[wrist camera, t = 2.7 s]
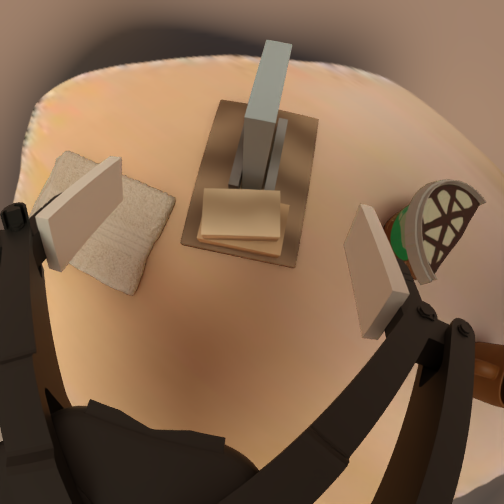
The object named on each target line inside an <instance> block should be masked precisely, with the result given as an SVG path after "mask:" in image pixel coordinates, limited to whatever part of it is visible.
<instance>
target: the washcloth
mask: <svg viewBox="0 0 504 504" xmlns="http://www.w3.org/2000/svg"><path fill="white" fill-rule="evenodd" d="M97 165H98V164H97V163H95V162H93V161H92V160H88V159H87V158H84V157H81V156H80V155H79V154H75V153H73V152H71V151H65V152H64V153H63V154H62V155H61V156H59V157H58V158H57V159H56V162H55V166H54V168H53V170H52V172H51V174H50V176H49V178H48V180H47V181H46V183H45V185H44V187H43V189H42V191H41V193H40V195H39V197H38V198H37V200H36V202H35V204H34V206H33V209H32V211H31V213H30V216H29V218H30V217H31V216H32V215H33V214H34V213H35V212H37V211H38V210H39V209H40V208H41V207H43V205H45V204H46V203H48V201H49V200H50V199H52V198H53V197H54V196H56V195H58V194H60V193H62V192H64V191H65V190H66V189H67V188H69V187H70V186H71V185H72V184H74V183H75V182H76V181H77V180H79V179H80V178H81V177H83V176H84V175H85V174H86V173H88V172H89V171H90V170H92V169H93V168H94V167H96V166H97ZM122 188H123V201H122V202H121V203H120V204H119V205H118V206H117V207H116V209H115V210H114V211H113V212H112V213H111V214H110V215H109V216H108V217H107V218H106V220H105V221H104V222H103V223H102V224H101V225H100V226H99V227H98V229H97V230H96V231H95V232H94V233H93V234H92V236H91V237H90V238H89V239H88V240H87V241H86V243H85V244H84V245H83V246H82V247H81V249H80V250H79V251H78V252H77V254H76V255H75V256H74V257H73V258H72V260H71V261H70V262H69V264H71V265H72V266H74V267H76V268H77V269H79V270H81V271H83V272H85V273H87V274H89V275H90V276H92V277H94V278H96V279H97V280H99V281H101V282H102V283H104V284H106V285H108V286H109V287H111V288H113V289H116V290H119V291H122V292H124V293H126V294H128V295H132V296H133V295H134V293H135V291H136V290H137V287H138V284H139V282H140V279H141V276H142V275H143V271H144V267H145V265H146V263H145V261H146V259H147V256H148V255H149V253H150V250H151V249H152V247H153V244H154V243H155V241H156V240H158V238H159V236H160V234H161V232H162V230H163V227H164V226H165V224H166V221H167V219H169V214H170V213H171V211H172V208H173V206H174V204H175V197H173V196H171V195H168V194H167V193H166V192H164V193H163V192H162V191H160V190H158V189H156V188H152V187H150V186H148V185H147V184H144V183H141V182H140V181H138V180H134V179H131V178H129V177H127V176H126V175H122Z"/></svg>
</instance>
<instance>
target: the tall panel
mask: <svg viewBox="0 0 504 504" xmlns="http://www.w3.org/2000/svg"><path fill="white" fill-rule="evenodd" d="M291 48H292V45H291V44H287V43H282V42H277V41H271V40H266V44H265V47H264V50H263V53H262V57H261V60H260V63H259V67H258V70H257V74H256V77H255V81H254V84H253V88H252V91H251V95H250V98H249V102H248V106H247V109H246V113H245V117H244V141H243V172H242V189H250V190H261V188H262V184H263V179H264V174H265V170H266V165H267V160H268V156H269V151H270V147H271V142H272V137H273V133H274V128H275V124H276V119H277V114H278V109H279V105H280V100H281V95H282V91H283V86H284V81H285V76H286V72H287V67H288V62H289V58H290V53H291Z"/></svg>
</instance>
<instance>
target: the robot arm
mask: <svg viewBox="0 0 504 504" xmlns="http://www.w3.org/2000/svg"><path fill="white" fill-rule="evenodd" d="M122 201H123V188H122V157H114V156H110V157H108V158H107V159H105V160H104V161H103V162H101V163H100V164H98V165H97V166H96V167H94V168H93V169H92V170H90V171H89V172H88V173H86V174H85V175H84V176H83V177H81V178H80V179H79V180H77V181H76V182H75V183H74V184H72V185H71V186H70V187H69V188H67V189H66V190H65V191H64V192H62V193H60V194H58V195H56V196H54V197H53V198H52V199H50V200H49V201H48V203H46V204H45V205H43V207H41V208H40V209H39V210H38V211H37V212H35V213H34V214H33V215H32V216H31V217H30V218H29V217H28V212H27V208H26V204H24V203H20V202H18V203H13V204H11V205H9V206H7V207H6V208H4V209H3V210H2V211H1V214H0V215H1V219H2V222H3V226H4V229H5V230H0V427H1V433H2V437H3V441H1V442H0V504H313V503H314V502H315V501H316V500H317V499H318V498H319V497H320V496H321V495H322V494H323V493H324V492H325V491H326V490H327V489H328V488H329V486H330V485H331V484H332V483H333V482H334V481H335V480H336V479H337V478H338V477H339V475H340V474H341V473H342V472H343V471H344V469H345V468H346V467H347V465H348V463H349V458H350V456H351V455H352V453H353V452H354V451H355V450H356V448H357V447H358V446H359V445H360V443H361V442H362V441H363V440H364V438H365V437H366V436H367V434H368V433H369V432H370V430H371V429H372V428H373V426H374V425H375V424H376V422H377V421H378V420H379V418H380V417H381V415H382V414H383V413H384V411H385V410H386V408H387V407H388V405H389V404H390V402H391V401H392V399H393V398H394V396H395V395H396V393H397V392H398V390H399V389H400V387H401V385H402V384H403V382H404V381H405V379H406V377H407V376H408V374H409V372H410V371H411V369H412V367H413V366H414V364H415V363H418V364H419V365H418V369H417V374H416V378H415V382H414V386H413V390H412V394H411V397H410V401H409V405H408V408H407V412H406V415H405V418H404V421H403V425H402V428H401V431H400V434H399V437H398V440H397V443H396V445H395V448H394V451H393V454H392V456H391V459H390V461H389V464H388V467H387V469H386V471H385V474H384V476H383V479H382V481H381V483H380V486H379V488H378V490H377V492H376V494H375V497H374V499H373V501H372V503H371V504H452V501H453V498H454V495H455V491H456V488H457V484H458V480H459V476H460V472H461V468H462V463H463V459H464V454H465V449H466V443H467V437H468V431H469V425H470V417H471V409H472V399H473V387H474V369H475V334H474V331H473V329H472V327H471V326H470V325H469V323H468V322H466V321H465V320H463V319H460V318H456V319H454V320H453V321H452V322H451V323H450V325H449V324H446V323H444V322H442V321H440V320H438V319H437V314H436V312H435V310H434V309H433V308H432V307H431V306H430V305H429V304H427V303H426V302H424V301H422V300H421V297H420V295H419V292H418V290H417V287H416V285H415V282H414V280H413V277H412V276H411V273H410V270H409V268H408V266H407V265H406V264H405V263H404V261H403V260H402V259H399V258H396V257H395V255H394V253H393V250H392V248H391V246H390V243H389V241H388V239H387V236H386V234H385V232H384V230H383V227H382V225H381V223H380V221H379V219H378V217H377V214H376V212H375V210H374V208H373V207H372V206H368V205H365V204H361V203H360V205H359V208H358V210H357V213H356V215H355V218H354V220H353V223H352V225H351V228H350V230H349V233H348V235H347V238H346V240H345V243H344V248H345V253H346V257H347V262H348V266H349V271H350V276H351V280H352V285H353V290H354V295H355V300H356V306H357V311H358V317H359V323H360V328H361V334H362V338H368V339H376V340H378V339H379V337H380V336H381V335H382V333H383V332H384V331H385V335H386V339H385V341H384V342H383V343H382V345H381V346H380V347H379V348H378V350H377V351H376V352H375V353H374V355H373V356H372V357H371V359H370V360H369V361H368V362H367V363H366V365H365V366H364V367H363V368H362V370H361V371H360V372H359V373H358V374H357V375H356V377H355V378H354V379H353V380H352V381H351V382H350V384H349V385H348V386H347V387H346V388H345V389H344V390H343V391H342V393H341V394H340V395H339V396H338V397H337V398H336V399H335V400H334V401H333V402H332V403H331V404H330V405H329V407H328V408H327V409H326V410H325V411H324V412H323V413H322V414H321V415H320V416H319V417H318V418H317V419H316V420H315V421H314V422H313V423H312V424H311V425H310V426H309V427H308V428H307V429H306V430H305V431H304V432H303V433H302V434H301V435H300V436H298V437H297V438H296V439H295V440H294V441H293V442H292V443H291V444H290V445H289V446H288V447H287V448H285V449H284V450H283V451H282V452H281V453H280V454H279V455H278V456H276V457H275V458H274V459H273V460H272V461H271V462H269V463H268V464H267V465H266V466H265V467H263V468H262V469H261V470H260V471H259V470H258V468H257V467H256V466H255V465H254V464H253V463H252V462H251V461H250V460H249V459H248V458H247V457H246V456H244V455H243V454H241V453H240V452H238V451H237V450H235V449H233V448H231V447H229V446H227V445H224V444H225V438H224V437H219V436H213V435H208V434H204V433H199V432H194V431H190V430H154V429H150V428H148V427H146V426H145V425H143V424H141V423H140V422H138V421H136V420H135V419H133V418H131V417H130V416H128V415H127V414H125V413H124V412H122V411H120V410H118V409H115V408H112V407H109V406H107V405H104V404H101V403H99V402H96V401H94V400H91V399H90V401H89V403H88V406H73V407H72V405H71V403H70V401H69V399H68V397H67V395H66V392H65V388H64V385H63V381H62V377H61V373H60V369H59V365H58V361H57V356H56V351H55V347H54V342H53V336H52V331H51V325H50V319H49V312H48V305H47V297H46V289H45V279H44V269H43V266H42V263H43V261H44V260H45V259H47V262H48V266H49V268H50V269H53V270H56V271H59V272H62V271H63V270H64V269H65V267H66V266H67V265H68V264H69V262H70V261H71V260H72V258H73V257H74V256H75V255H76V254H77V252H78V251H79V250H80V249H81V247H82V246H83V245H84V244H85V243H86V241H87V240H88V239H89V238H90V237H91V236H92V234H93V233H94V232H95V231H96V230H97V229H98V227H99V226H100V225H101V224H102V223H103V222H104V221H105V220H106V218H107V217H108V216H109V215H110V214H111V213H112V212H113V211H114V210H115V209H116V207H117V206H118V205H119V204H120V203H121V202H122Z"/></svg>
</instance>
